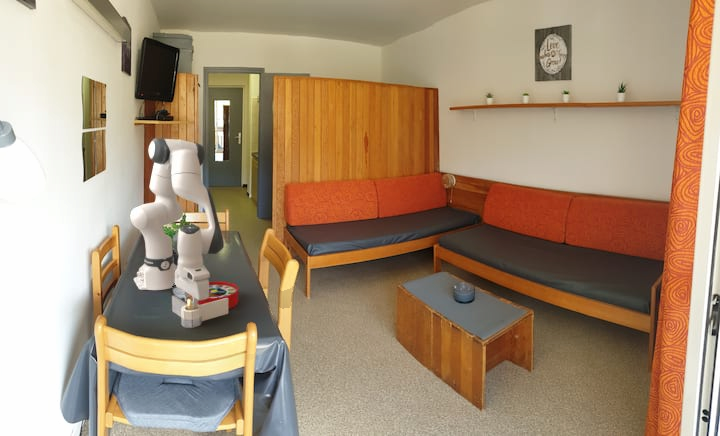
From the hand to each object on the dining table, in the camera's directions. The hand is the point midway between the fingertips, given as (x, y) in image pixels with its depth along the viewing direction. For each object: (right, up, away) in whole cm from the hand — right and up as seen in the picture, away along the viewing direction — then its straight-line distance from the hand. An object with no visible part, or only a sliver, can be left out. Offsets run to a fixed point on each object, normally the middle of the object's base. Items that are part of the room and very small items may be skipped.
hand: (191, 303), depth 171 cm
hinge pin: (0, -6, +1) cm, 6 cm away
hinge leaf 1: (-5, -7, +6) cm, 10 cm away
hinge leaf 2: (+4, -7, +6) cm, 10 cm away
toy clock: (+1, -4, +23) cm, 23 cm away
